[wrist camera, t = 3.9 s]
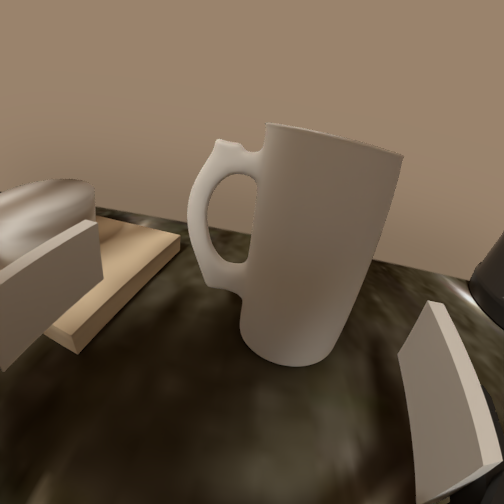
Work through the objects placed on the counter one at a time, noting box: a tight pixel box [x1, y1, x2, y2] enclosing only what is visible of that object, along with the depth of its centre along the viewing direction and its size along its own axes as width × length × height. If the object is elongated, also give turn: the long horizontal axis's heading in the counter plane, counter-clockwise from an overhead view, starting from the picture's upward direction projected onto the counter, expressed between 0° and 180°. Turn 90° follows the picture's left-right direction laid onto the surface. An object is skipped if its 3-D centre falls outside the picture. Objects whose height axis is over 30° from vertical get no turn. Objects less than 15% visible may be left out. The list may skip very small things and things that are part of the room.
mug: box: [187, 123, 404, 367], centre depth 15 cm, size 10×7×12 cm, turn 87°
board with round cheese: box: [0, 179, 180, 354], centre depth 19 cm, size 22×14×6 cm, turn 77°
